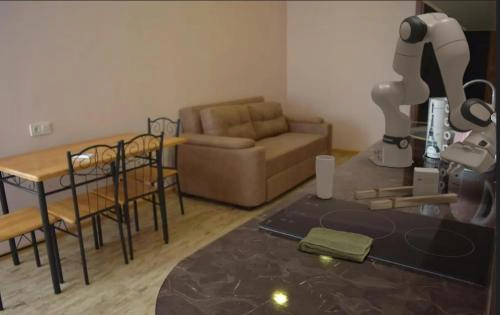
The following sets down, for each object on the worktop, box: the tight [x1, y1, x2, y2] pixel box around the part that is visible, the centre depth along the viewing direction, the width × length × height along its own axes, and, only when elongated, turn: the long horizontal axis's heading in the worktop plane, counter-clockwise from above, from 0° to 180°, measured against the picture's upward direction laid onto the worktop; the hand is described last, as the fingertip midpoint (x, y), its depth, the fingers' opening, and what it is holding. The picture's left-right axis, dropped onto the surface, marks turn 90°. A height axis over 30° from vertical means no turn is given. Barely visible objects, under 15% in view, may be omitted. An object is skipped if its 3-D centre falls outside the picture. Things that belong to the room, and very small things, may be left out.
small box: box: [412, 166, 440, 197], centre depth 142 cm, size 8×6×10 cm
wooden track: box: [353, 185, 458, 211], centre depth 141 cm, size 13×32×3 cm, turn 101°
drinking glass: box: [315, 154, 336, 200], centre depth 144 cm, size 7×7×15 cm
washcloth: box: [298, 227, 374, 263], centre depth 106 cm, size 13×18×3 cm
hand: (449, 174), depth 142 cm, fingers closed
